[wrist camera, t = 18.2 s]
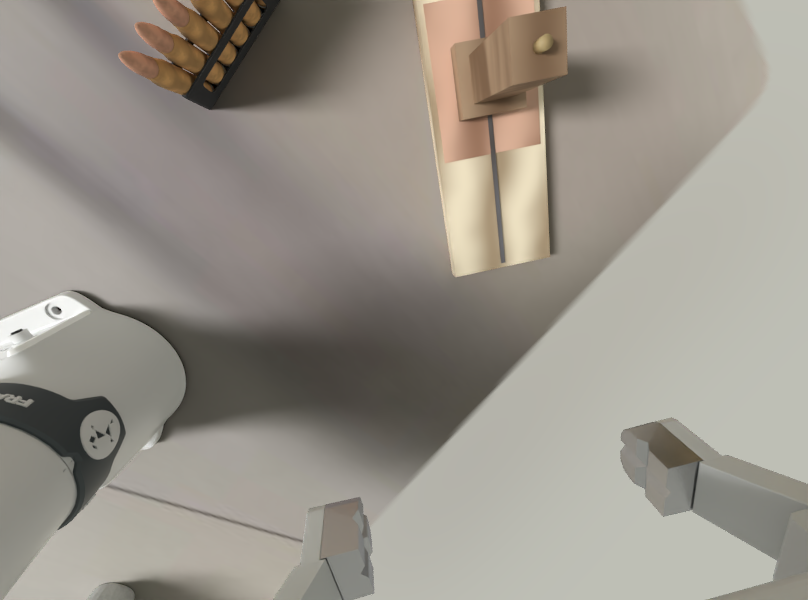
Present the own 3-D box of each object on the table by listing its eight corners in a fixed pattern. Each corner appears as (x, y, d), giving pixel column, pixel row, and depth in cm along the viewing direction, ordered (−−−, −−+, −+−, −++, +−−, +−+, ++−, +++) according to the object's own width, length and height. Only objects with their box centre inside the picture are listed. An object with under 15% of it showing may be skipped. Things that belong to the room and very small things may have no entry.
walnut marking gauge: (459, 121, 32) (504, 103, 22) (450, 48, 30) (495, -8, 20) (519, 109, 33) (592, 86, 22) (515, 36, 31) (592, -26, 20)
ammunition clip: (261, -23, 29) (199, -139, 18) (282, -4, 29) (234, -104, 18) (189, 94, 31) (94, 57, 20) (210, 110, 32) (128, 83, 20)
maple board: (452, 273, 39) (456, 277, 38) (412, -2, 30) (415, -11, 29) (543, 253, 39) (550, 257, 38) (529, -25, 31) (539, -34, 29)
